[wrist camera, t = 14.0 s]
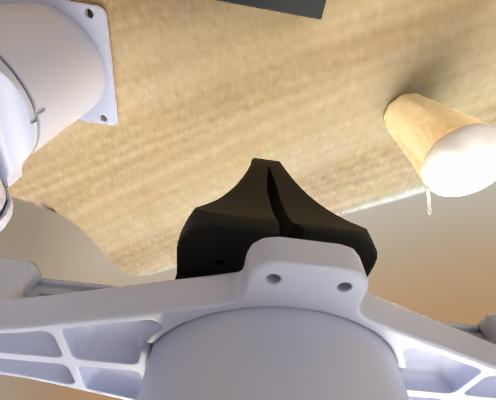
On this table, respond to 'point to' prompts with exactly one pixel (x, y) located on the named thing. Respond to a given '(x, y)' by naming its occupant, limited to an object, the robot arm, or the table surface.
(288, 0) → the control box
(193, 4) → the table surface
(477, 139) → the milkshake
